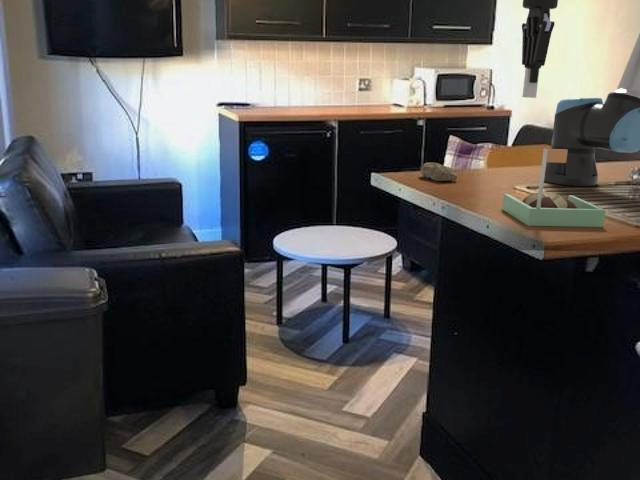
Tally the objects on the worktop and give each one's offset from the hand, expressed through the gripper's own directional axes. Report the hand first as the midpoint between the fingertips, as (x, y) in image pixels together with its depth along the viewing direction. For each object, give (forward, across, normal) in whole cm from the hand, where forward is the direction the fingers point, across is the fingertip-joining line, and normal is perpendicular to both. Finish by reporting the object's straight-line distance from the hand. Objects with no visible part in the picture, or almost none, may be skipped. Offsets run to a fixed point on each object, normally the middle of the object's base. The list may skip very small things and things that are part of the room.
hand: (529, 97), depth 158 cm
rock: (+25, -25, -13) cm, 37 cm away
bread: (+25, +19, 0) cm, 31 cm away
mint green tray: (+24, +20, 0) cm, 31 cm away
